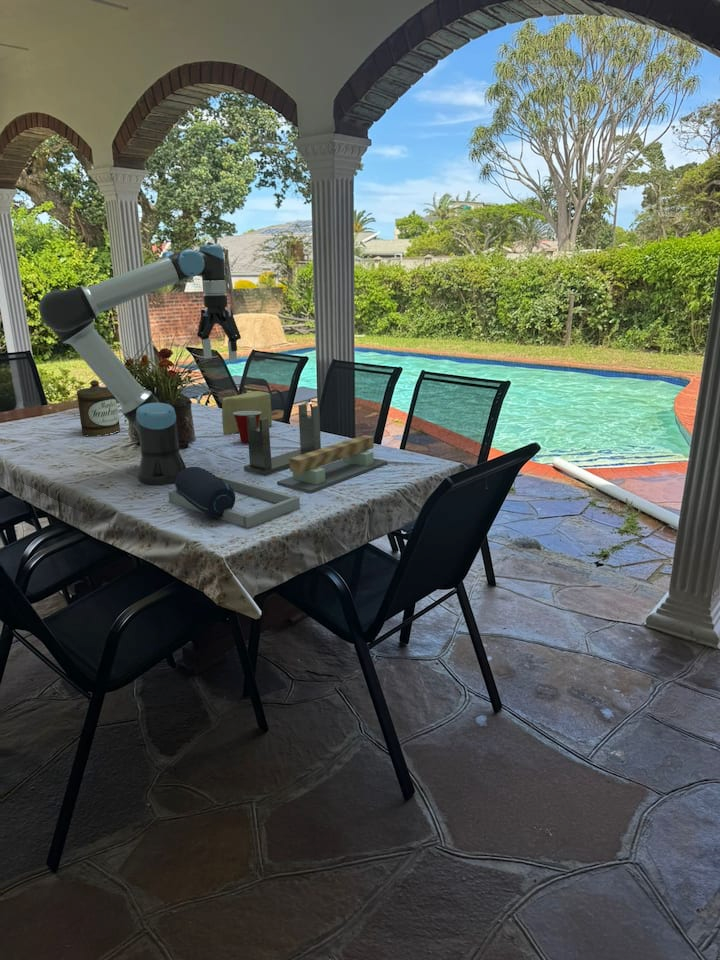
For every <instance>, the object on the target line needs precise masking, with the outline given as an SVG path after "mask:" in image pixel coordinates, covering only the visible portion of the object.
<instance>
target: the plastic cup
mask: <svg viewBox="0 0 720 960" xmlns="http://www.w3.org/2000/svg"><path fill="white" fill-rule="evenodd" d="M260 414H261V412H260V411H239V412H234V413H233V415H234V416H235V419H236V423H237V427H238V431H239V432H238V435H239V437H240V441H241V443H242V444H245V443H248V431H247V417H249V416H256V424H257V428H258V424H259V417H260Z"/></svg>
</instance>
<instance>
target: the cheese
mask: <svg viewBox="0 0 720 960" xmlns="http://www.w3.org/2000/svg"><path fill="white" fill-rule="evenodd" d="M221 401H222V402H221V403H222V404H221V407H222V408H221V421H222V429H223V430H222V431H223V435H225V434H228V435H233V434H237V432H238V433H239V431H238V427H237V423H236V419H235V416H234V415H233V413H234V412H239V411H260V412H261V414H260V417H259V419H263V418H269V428H270V427H272V425H273V423H272V422H273V421H272V405H271V404H272V402H271V401H272V400H271V394H270V392H266V391H260V390H255V391H252V392H246V393H241V394H238V395H237V394H236V395H232V396H227V397H223V398H222V400H221ZM258 428H260V426H259V424H258ZM232 433H233V434H232Z"/></svg>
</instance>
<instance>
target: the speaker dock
mask: <svg viewBox="0 0 720 960" xmlns="http://www.w3.org/2000/svg"><path fill="white" fill-rule="evenodd" d="M217 477H219V479H222V481H224V482H225V483H227V484H229V485H230V486H231V487H232V489H233V491H234V492H236V493H240V494H243V495H247V496H250V497H253V498H257V499H260V500H264V501H268V502H270V503H274V504H271V505H269V506H266V507H264V508H261V509H259V510H258V509H257V510H255V511H253V512H249V513H245V512H241V511H238V510H236V509H233V508H232V509H229V508H228V509H226V510H224V513H223V517H220V518H218V519H219V520H223V521H226V522H228V523H232V524H235V525H237V526H241V527H243V528H246V529H250V528H252V527H254V526H257V525H260V524H262V523H265V522H267V521H270V520H272V519H275V518H277V517H280V516H282V515H284V514H287V513H289V512H292V511H295V510H297V509H299V508H301V505H300V504H301V503H300V497H299V496H295V495H292V494H289V493H285V492H282V491H281V492H280V491H277V490H274V489H270V488H266V487H263V486H260V485H257V484H256V485H255V484H252V483H248V482H245V481H242V480H241V481H240V480H237V479H234V478H231V477H226V476H224V475H218V476H217ZM167 496H168V502H169V503H172V504H175V505H179V506H182V507H184V508H187V509H190V510H193V511H196V512H199V513H202V514H204V513H203V512H202V511H200V510H199V509H198V508H196V507H195V506H193V505H192V504H191V503H190V502H188V501H187V500H186V499H185V498H184V497H183V496H182V495H180V494H179V493H178V491H177V489H176V488H175V489H171V490H169V491H167Z"/></svg>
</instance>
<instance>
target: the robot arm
mask: <svg viewBox="0 0 720 960" xmlns="http://www.w3.org/2000/svg"><path fill="white" fill-rule="evenodd" d="M223 249H224V248H223V247H222V245H220V244H200V246H199V248H198V251H197V250H194V249H191V248H188V249H187V248H186V249H184V250H180V251H176V250H175V251H174V250H171V251H164V252H162V254H161V258H160V259H159V260H155V261H153V262H151V263H148V264H144V265H143V266H142V265H141V266H139V267H138V268H134V269H132V270H128V271H127V272H124V273H121V274H119V275H117V276H114V277H113V276H112V277H111V278H108V279H105V280H103V281H100V282H98V283H95V284H92V285H90V286H87V287H86V286H84V285H78V286H76V287H74V288H70V289H65V290H63V289H53V290H50V291H49V292H46V293H45V294H44V295H43V296H42V297H41V299H40V301H39V305H38V310H39V315H40V318H41V320H42V321H43V323H44V324H45V325H46V326H47V327H48V328H49V329H51V331H52V332H53V333H54V334H55V335H56V336H57V338H58V339H59V340H60V341H61V342H62V344H68V345H70V346H71V347H73V349H74V350H75V352H77V354H78V355H79V356H80V357H81V359H82V360H83V361H84V362H85V364H86V365H87V366H88V367H89V368H90V369H91V370H92V371H93V372H94V374H95V375H96V376H97V378H98V379H99V380H100V381H101V382H102V384H104V387H107V388H108V389H109V391H110V392H111V393H112V394H113V395H114V396H115V398H116V401H118V402H119V403H120V405H121V414H123V416H124V417H125V418H126V419H127V420H128V421H129V423H130V424H131V425H132V426H133V428H134V429H135V430H136V431H137V434H138V440H139V447H140V453H141V458H140V461H139V468H138V472H137V475H138V481H139V482H140V483H141V484H145V485H168V484H172V483H173V484H175V480H176V477H177V475H178V474H179V472H180V471H182V470H183V469H185V468H187V466H186V465H185V462H184V460H183V458H182V455H181V453H180V445H179V435H178V426H177V414H176V410H175V407H174V406H172V405H171V404H169V403H164V402H160V401H159V399H157V397H156V396H155V394H154V393H153V392H152V391H151V390H146V389H144V388H143V387H142V386H141V384H139V382H138V381H137V379H136V378H135V377H134V376H133V374H132V373H130V371H129V370H128V369H127V367H126V366H125V365H124V364H123V362H122V361H121V360H120V358H119V357H118V356H117V355H116V353H115V352H114V351H113V350H112V349H111V347H110V346H109V345H108V343H106V341H105V340H104V338H103V337H102V336H101V335H100V333H99V332H98V331H97V330H96V329H95V319H98V317H99V314H100V313H103V312H106V311H107V310H110V309H112V308H115V307H118V306H120V305H123V304H125V303H128V302H130V301H133V300H136V299H139V298H141V297H143V296H145V295H148V294H150V293H153V292H155V291H158V290H160V289H163V288H166V287H168V286H171V285H173V284H175V283H178V282H181V281H184V280H186V279H189V278H193V277H200V276H201V281H202V293H203V294H204V296H203V305H204V307H205V308H206V309H200V319H199V325H198V328H197V329H198V330H197V337H198V338H200V339H201V343H202V349H203V350H202V351H203V359H205V360H207V359H213V356H212V345H211V338H210V336H211V333H212V331H213V328H214V326H215V325H216V324H217V325H219V326H220V327H221V328H222V330H223V332H224V334H225V335H226V337H227V339H228V340H227V346H228V360H229V361H228V362H237V361H238V354H237V351H238V345H237V341H238V340H241V338H242V337H241V334H240V330H239V329H238V326H237V323H236V321H235V318H234V313H233V310H232V309H228V310H227V309H226V308H227V307H228V296H227V295H225V294H227V286H226V285H227V283H226V271H225V269H226V268H225V256H224V250H223Z"/></svg>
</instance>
